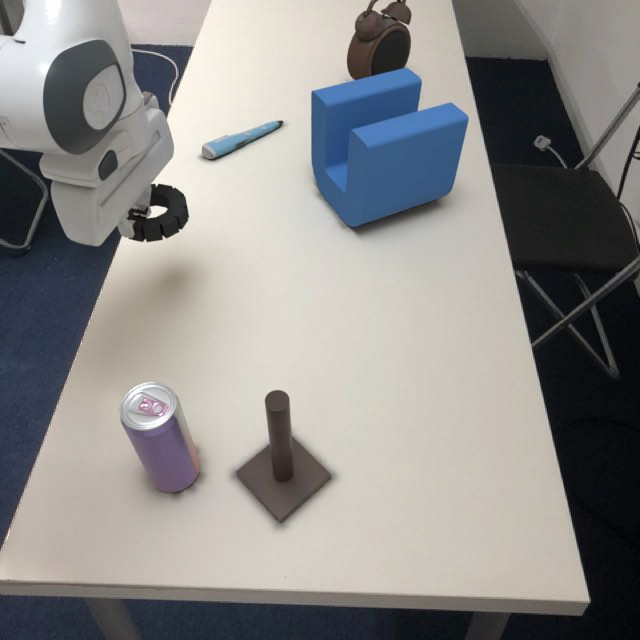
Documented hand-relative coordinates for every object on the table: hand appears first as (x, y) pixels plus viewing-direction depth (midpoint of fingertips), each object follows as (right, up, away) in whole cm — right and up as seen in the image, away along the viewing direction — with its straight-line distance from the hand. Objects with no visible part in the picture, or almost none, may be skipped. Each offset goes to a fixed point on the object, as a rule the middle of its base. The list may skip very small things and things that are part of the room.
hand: (136, 225), depth 73 cm
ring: (+1, +1, +4) cm, 4 cm away
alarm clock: (+37, +39, +54) cm, 76 cm away
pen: (+8, +23, +40) cm, 47 cm away
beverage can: (+6, -30, -5) cm, 32 cm away
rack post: (+19, -31, -5) cm, 37 cm away
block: (+34, +10, +30) cm, 46 cm away
